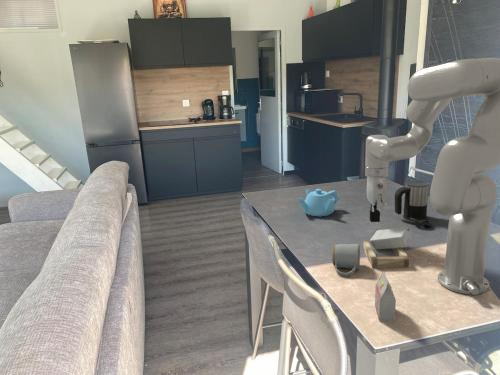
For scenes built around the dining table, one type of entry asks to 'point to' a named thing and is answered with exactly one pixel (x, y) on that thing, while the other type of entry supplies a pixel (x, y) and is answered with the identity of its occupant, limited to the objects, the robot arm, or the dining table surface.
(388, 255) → the wooden tray
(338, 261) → the ceramic mug
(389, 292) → the tea bag
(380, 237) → the skincare box
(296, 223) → the dining table surface
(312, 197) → the teapot
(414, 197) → the black and silver appliance
